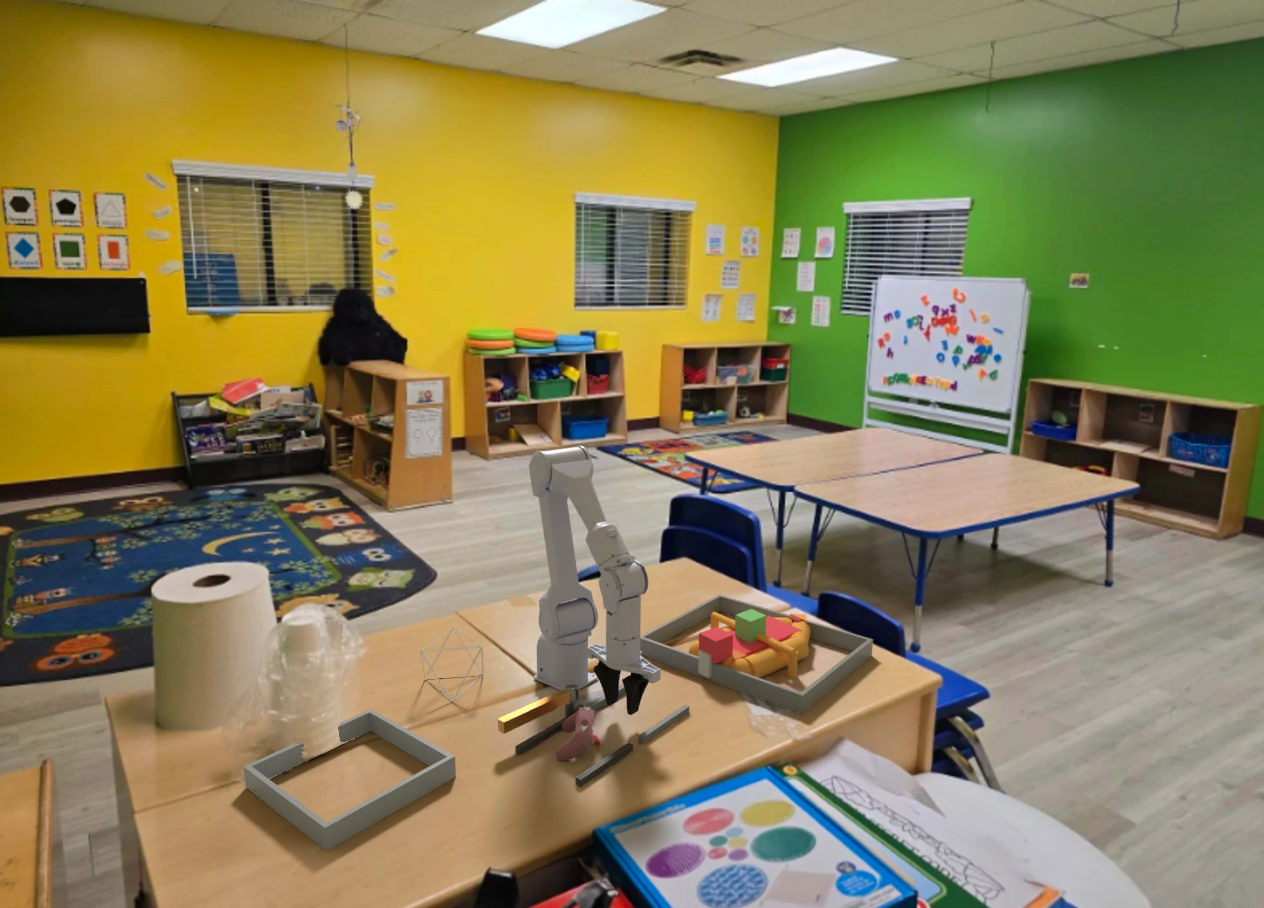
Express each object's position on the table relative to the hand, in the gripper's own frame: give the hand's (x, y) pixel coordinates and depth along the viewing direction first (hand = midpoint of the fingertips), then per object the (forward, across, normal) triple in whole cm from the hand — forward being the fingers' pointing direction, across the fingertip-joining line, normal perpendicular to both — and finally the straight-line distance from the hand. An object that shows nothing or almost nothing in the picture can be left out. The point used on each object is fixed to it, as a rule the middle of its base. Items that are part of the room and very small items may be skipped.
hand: (622, 707), depth 143 cm
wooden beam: (+2, +8, +11) cm, 14 cm away
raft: (+3, -4, -36) cm, 37 cm away
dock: (+3, 0, +4) cm, 5 cm away
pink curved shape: (+3, +1, +10) cm, 11 cm away
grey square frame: (+3, +20, +40) cm, 44 cm away
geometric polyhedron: (+3, +32, +11) cm, 34 cm away
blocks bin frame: (+3, -4, -37) cm, 37 cm away
